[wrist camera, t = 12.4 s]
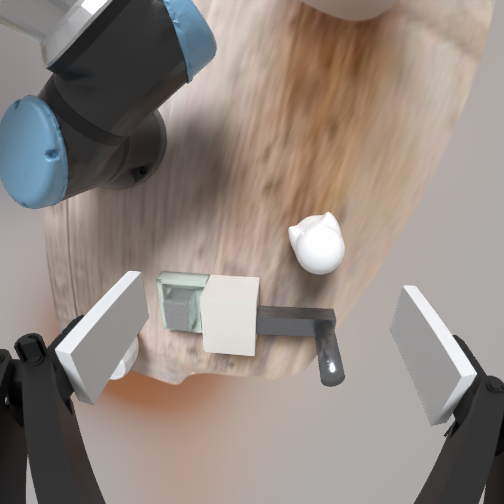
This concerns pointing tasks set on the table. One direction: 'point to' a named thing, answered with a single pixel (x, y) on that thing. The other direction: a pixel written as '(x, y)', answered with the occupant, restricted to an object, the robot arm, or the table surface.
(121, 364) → the white faceted bowl
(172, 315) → the block
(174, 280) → the tray
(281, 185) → the table surface
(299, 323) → the grey l-shaped bracket
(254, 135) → the table surface
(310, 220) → the figurine
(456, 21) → the table surface
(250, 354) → the housing
